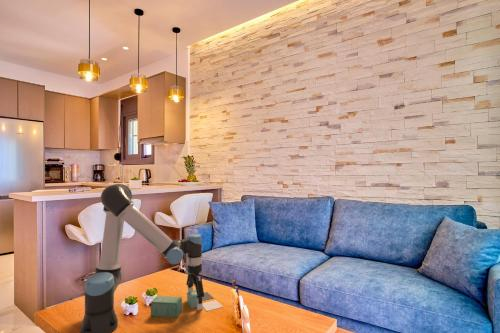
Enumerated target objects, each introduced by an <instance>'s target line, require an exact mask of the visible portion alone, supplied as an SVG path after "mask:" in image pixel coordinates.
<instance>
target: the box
mask: <svg viewBox="0 0 500 333" xmlns="http://www.w3.org/2000/svg"><path fill="white" fill-rule="evenodd" d="M182 309H183V298H182V297H181V296H170V295H169V296H168V295H164V296H163V295H156V296H155V297H154V298H153V299H152V300H151V301H150V317H157V318H178V316H179V315H180V314H181V312H182Z"/></svg>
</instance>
